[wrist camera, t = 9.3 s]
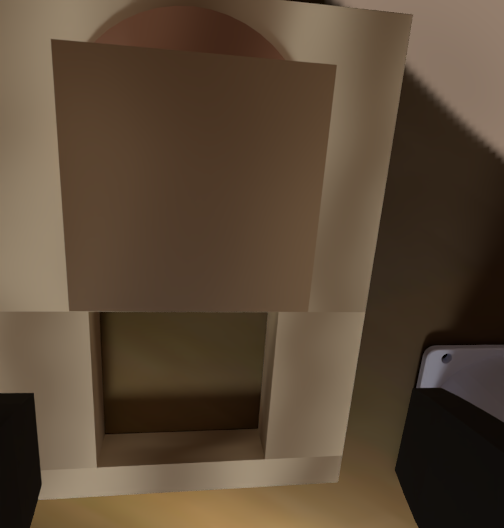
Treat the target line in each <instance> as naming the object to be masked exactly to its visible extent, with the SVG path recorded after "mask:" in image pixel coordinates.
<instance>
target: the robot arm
mask: <svg viewBox="0 0 504 528" xmlns="http://www.w3.org/2000/svg"><path fill="white" fill-rule="evenodd" d="M445 354H447V356H446V357H445V358H444V359H442V357H443V356H444V355H445ZM395 471H396V474H397V477H398V479H399V482H400V485H401V487H402V490H403V493H404V495H405V498H406V500H407V502H408V505H409V507H410V510H411V512H412V514H413V517H414V519H415V521H416V523H417V525H418V527H419V528H504V345H435V346H431V347H429V348H427V349H426V350H425V351H424V354H423V357H422V362H421V367H420V371H419V376H418V381H417V386H416V388H413V390H412V395H411V399H410V404H409V408H408V413H407V417H406V422H405V426H404V431H403V435H402V440H401V444H400V449H399V454H398V458H397V463H396V467H395ZM41 486H42V480H41V468H40V457H39V445H38V434H37V423H36V411H35V400H34V393H0V528H30V525H31V522H32V519H33V515H34V512H35V508H36V504H37V501H38V497H39V494H40V490H41Z"/></svg>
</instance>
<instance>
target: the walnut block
mask: <svg viewBox="0 0 504 528" xmlns="http://www.w3.org/2000/svg"><path fill="white" fill-rule="evenodd" d="M51 51H52V66H53V81H54V95H55V110H56V125H57V140H58V154H59V169H60V184H61V199H62V213H63V228H64V243H65V258H66V272H67V287H68V302H69V311H113V312H308V308H309V300H310V291H311V283H312V274H313V265H314V257H315V248H316V240H317V231H318V223H319V214H320V206H321V197H322V189H323V180H324V172H325V163H326V155H327V146H328V138H329V129H330V121H331V112H332V103H333V95H334V86H335V78H336V69H337V65H333V64H322V63H311V62H300V61H289V60H278V59H267V58H256V57H245V56H234V55H223V54H212V53H201V52H190V51H179V50H168V49H157V48H146V47H135V46H124V45H113V44H102V43H91V42H80V41H69V40H58V39H51Z"/></svg>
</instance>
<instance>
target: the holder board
mask: <svg viewBox="0 0 504 528" xmlns="http://www.w3.org/2000/svg"><path fill="white" fill-rule="evenodd" d="M412 17H413V15H412V14H403V13H394V12H385V11H376V10H367V9H358V8H349V7H340V6H331V5H322V4H313V3H304V2H295V1H286V0H0V393H34V400H35V411H36V423H37V434H38V445H39V457H40V468H41V480H42V486H41V490H40V494H39V497H38V500H44V499H61V498H78V497H95V496H112V495H129V494H146V493H163V492H180V491H197V490H214V489H231V488H248V487H266V486H283V485H300V484H317V483H334V482H338V479H339V472H340V466H341V460H342V454H343V447H344V441H345V435H346V429H347V423H348V416H349V410H350V404H351V398H352V391H353V385H354V379H355V373H356V366H357V360H358V354H359V348H360V341H361V335H362V329H363V323H364V317H365V310H366V304H367V298H368V292H369V285H370V279H371V273H372V267H373V260H374V254H375V248H376V242H377V235H378V229H379V223H380V217H381V211H382V204H383V198H384V192H385V186H386V179H387V173H388V167H389V161H390V154H391V148H392V142H393V136H394V129H395V123H396V117H397V111H398V105H399V98H400V92H401V86H402V80H403V73H404V67H405V61H406V55H407V48H408V41H409V36H410V30H411V23H412ZM51 39H58V40H69V41H80V42H91V43H102V44H113V45H124V46H135V47H146V48H157V49H168V50H179V51H190V52H201V53H212V54H223V55H234V56H245V57H256V58H267V59H278V60H289V61H300V62H311V63H322V64H333V65H337V69H336V78H335V86H334V95H333V103H332V112H331V121H330V129H329V138H328V146H327V155H326V163H325V172H324V180H323V189H322V197H321V206H320V214H319V223H318V231H317V240H316V248H315V257H314V265H313V274H312V283H311V291H310V300H309V308H308V312H268V316H267V328H266V340H265V351H264V363H263V375H262V387H261V398H260V410H259V422H258V429H235V430H209V431H183V432H157V433H131V434H105V423H104V401H103V379H102V357H101V335H100V313H99V312H113V311H69V302H68V287H67V272H66V258H65V243H64V228H63V213H62V199H61V184H60V169H59V154H58V140H57V125H56V110H55V95H54V81H53V66H52V51H51Z"/></svg>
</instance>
